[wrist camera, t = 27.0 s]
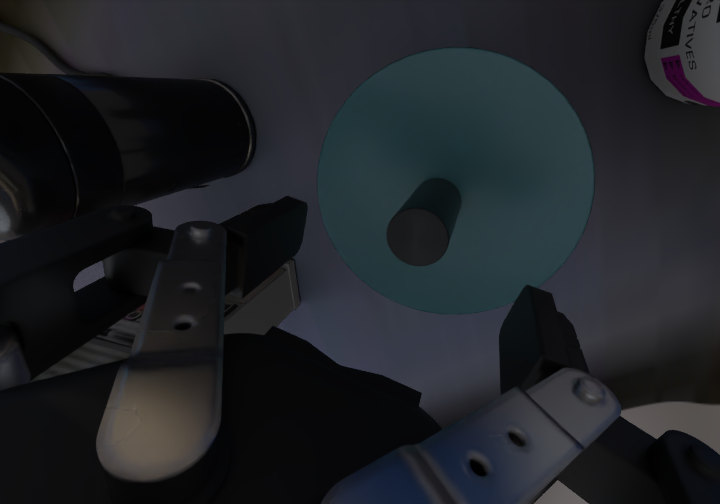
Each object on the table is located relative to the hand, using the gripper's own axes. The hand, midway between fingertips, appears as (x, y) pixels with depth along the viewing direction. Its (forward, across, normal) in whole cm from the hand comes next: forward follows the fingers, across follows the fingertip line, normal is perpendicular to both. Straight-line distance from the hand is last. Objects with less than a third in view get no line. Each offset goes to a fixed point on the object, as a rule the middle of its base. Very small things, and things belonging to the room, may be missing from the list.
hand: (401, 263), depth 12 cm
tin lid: (+8, 0, 0) cm, 8 cm away
